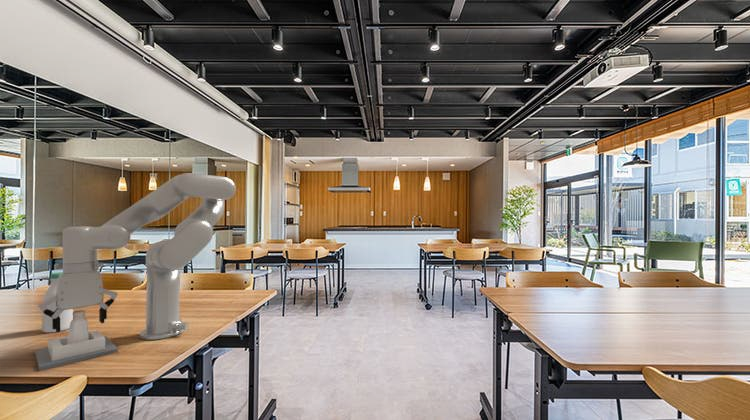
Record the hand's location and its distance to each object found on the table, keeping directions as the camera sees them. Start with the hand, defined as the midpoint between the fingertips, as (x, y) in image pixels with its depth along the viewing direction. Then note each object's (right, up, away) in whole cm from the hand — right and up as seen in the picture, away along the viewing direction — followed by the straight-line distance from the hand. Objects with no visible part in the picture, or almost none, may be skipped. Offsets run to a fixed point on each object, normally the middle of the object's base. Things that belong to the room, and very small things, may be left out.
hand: (80, 326), depth 95 cm
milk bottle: (-26, -8, +20) cm, 34 cm away
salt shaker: (0, -7, -1) cm, 7 cm away
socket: (0, -8, -1) cm, 8 cm away
